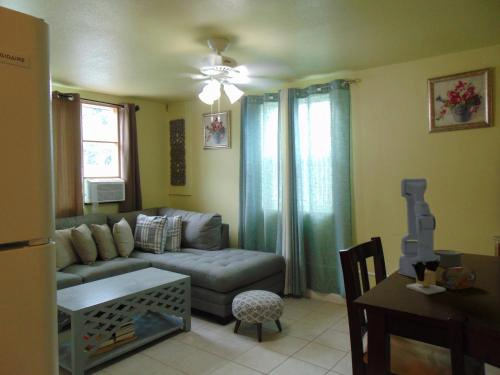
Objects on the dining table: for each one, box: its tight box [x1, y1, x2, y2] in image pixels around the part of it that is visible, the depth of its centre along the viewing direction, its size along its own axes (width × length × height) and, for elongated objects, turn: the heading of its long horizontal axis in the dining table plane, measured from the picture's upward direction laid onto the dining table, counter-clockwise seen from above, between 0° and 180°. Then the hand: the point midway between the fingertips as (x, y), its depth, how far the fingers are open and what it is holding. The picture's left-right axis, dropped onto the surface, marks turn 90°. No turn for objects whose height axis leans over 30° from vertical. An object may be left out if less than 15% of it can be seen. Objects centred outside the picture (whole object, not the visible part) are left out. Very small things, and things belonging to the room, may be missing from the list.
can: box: [434, 249, 462, 269], centre depth 183 cm, size 12×12×7 cm
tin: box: [441, 265, 477, 291], centre depth 146 cm, size 15×3×8 cm, turn 105°
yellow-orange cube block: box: [415, 268, 437, 286], centre depth 145 cm, size 5×5×5 cm
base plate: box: [406, 282, 447, 295], centre depth 145 cm, size 10×10×5 cm
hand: (425, 280), depth 145 cm, fingers closed on yellow-orange cube block, 5 cm apart
